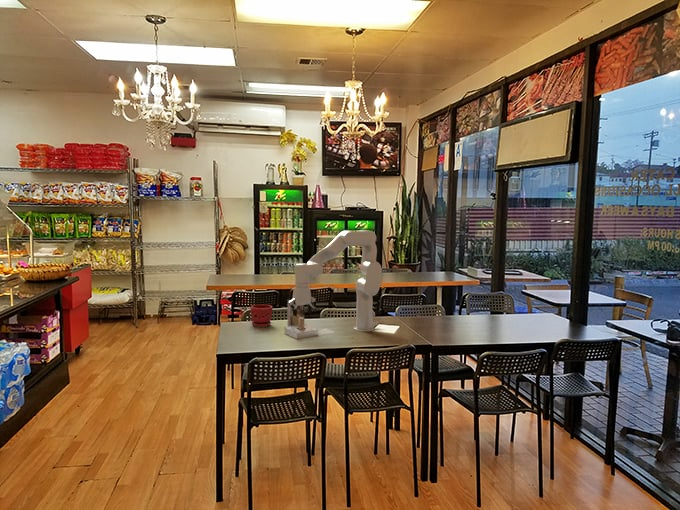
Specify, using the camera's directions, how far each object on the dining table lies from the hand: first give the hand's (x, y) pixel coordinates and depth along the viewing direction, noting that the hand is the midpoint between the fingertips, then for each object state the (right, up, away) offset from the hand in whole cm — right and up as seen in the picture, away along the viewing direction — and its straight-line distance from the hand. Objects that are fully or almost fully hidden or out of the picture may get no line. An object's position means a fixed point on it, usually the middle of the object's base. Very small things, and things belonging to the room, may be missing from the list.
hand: (302, 314), depth 267 cm
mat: (+12, -11, +7) cm, 18 cm away
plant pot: (-27, -9, +19) cm, 34 cm away
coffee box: (-6, -10, +20) cm, 23 cm away
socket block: (-1, -12, +1) cm, 12 cm away
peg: (-1, -12, +1) cm, 12 cm away
